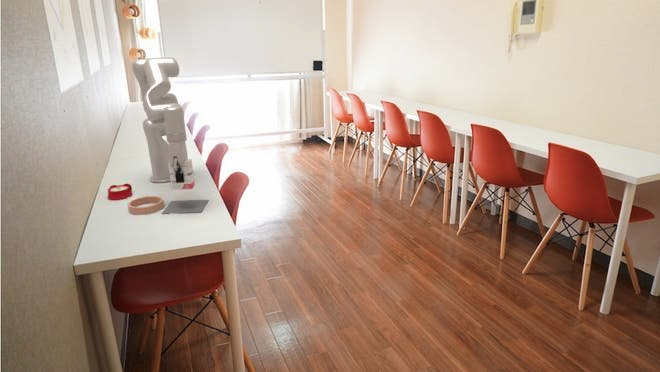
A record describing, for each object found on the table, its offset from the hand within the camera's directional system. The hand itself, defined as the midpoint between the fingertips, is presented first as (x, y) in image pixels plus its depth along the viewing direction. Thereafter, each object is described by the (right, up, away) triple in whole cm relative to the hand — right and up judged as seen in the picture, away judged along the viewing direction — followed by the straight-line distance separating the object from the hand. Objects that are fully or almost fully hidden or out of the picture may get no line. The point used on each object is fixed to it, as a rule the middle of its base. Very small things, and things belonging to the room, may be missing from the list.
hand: (182, 179), depth 182 cm
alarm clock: (-35, -7, +20) cm, 41 cm away
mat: (0, -11, +4) cm, 12 cm away
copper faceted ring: (-16, -12, +3) cm, 21 cm away
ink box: (0, -3, +1) cm, 4 cm away
